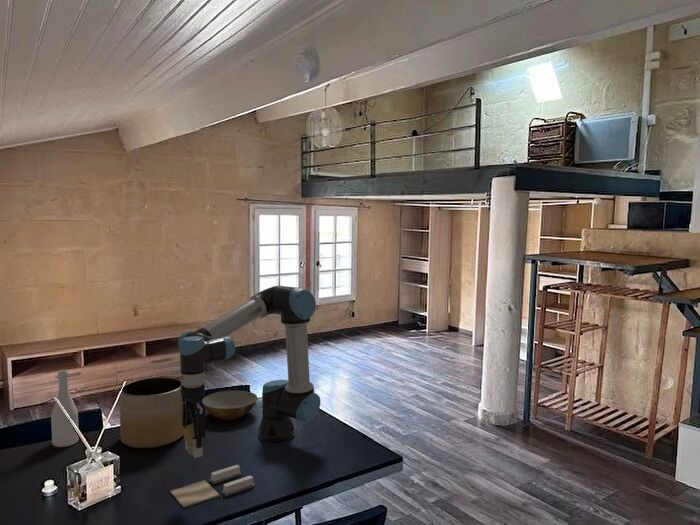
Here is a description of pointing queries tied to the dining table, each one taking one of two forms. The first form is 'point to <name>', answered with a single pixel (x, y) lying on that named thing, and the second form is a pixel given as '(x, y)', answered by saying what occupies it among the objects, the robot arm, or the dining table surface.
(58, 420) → the wine bottle
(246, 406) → the bowl
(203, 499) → the square wooden board
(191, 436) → the light bulb
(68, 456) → the dining table surface
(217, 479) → the socket rails
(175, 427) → the planter
